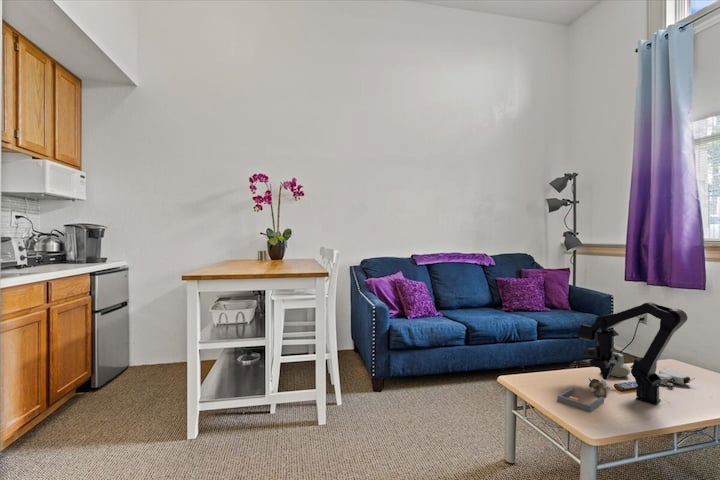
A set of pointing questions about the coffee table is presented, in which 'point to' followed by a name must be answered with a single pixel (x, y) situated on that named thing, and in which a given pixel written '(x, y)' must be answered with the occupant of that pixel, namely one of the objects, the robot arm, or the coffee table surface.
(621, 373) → the air freshener
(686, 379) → the robot toy
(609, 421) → the coffee table surface
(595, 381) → the eagle figurine
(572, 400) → the pocket
